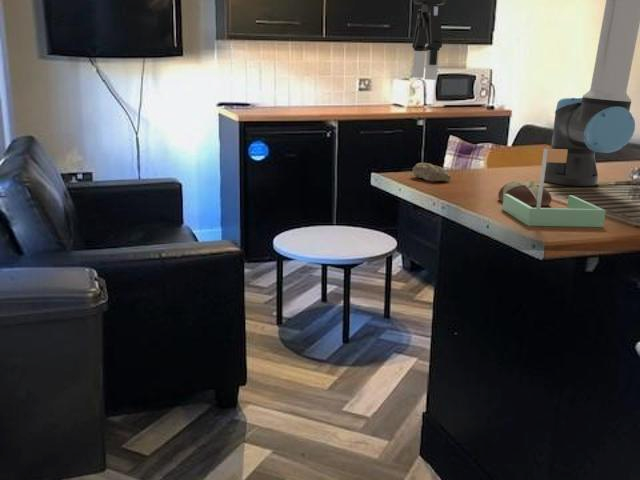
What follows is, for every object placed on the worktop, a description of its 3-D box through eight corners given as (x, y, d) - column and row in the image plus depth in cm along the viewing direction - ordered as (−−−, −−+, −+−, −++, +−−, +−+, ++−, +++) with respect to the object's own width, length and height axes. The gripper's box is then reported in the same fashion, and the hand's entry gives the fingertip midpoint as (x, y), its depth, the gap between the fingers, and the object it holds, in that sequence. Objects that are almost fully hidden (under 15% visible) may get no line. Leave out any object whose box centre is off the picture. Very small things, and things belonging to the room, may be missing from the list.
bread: (492, 198, 165) (495, 178, 164) (538, 199, 166) (541, 179, 164) (508, 208, 154) (510, 186, 153) (557, 209, 155) (560, 188, 154)
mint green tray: (570, 210, 153) (580, 141, 149) (603, 227, 139) (614, 151, 135) (502, 209, 152) (510, 139, 148) (527, 225, 138) (537, 148, 133)
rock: (434, 184, 180) (436, 168, 179) (406, 177, 189) (408, 161, 188) (455, 182, 184) (457, 166, 183) (427, 175, 193) (428, 160, 192)
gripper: (404, -10, 173) (399, 76, 179) (427, -20, 149) (420, 79, 155) (433, -8, 174) (427, 77, 180) (460, -18, 150) (452, 81, 156)
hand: (423, 78), depth 167 cm, fingers open, 13 cm apart
